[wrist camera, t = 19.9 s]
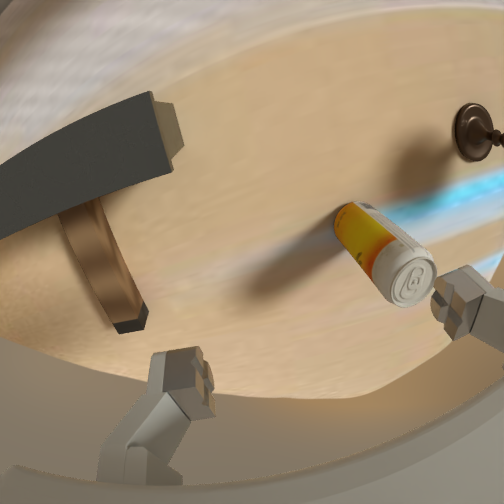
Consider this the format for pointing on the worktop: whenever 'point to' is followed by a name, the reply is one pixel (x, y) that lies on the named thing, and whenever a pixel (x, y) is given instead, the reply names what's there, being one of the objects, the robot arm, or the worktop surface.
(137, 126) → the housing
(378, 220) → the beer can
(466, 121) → the candlestick
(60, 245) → the worktop surface
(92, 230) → the rod
